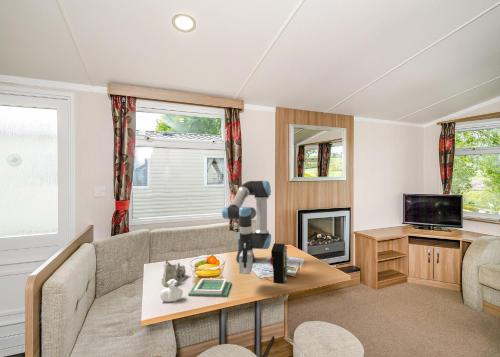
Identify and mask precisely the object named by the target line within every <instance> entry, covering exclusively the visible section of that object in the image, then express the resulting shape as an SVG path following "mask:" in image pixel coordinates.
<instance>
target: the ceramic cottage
mask: <svg viewBox="0 0 500 357" xmlns="http://www.w3.org/2000/svg"><path fill="white" fill-rule="evenodd" d="M164 262H165V264H163V269H164V272H163V275H162V276H163V277H162V279H161V284H162V286H163V287H164V288H169V286H168V285H169V283H168V284H167V283H166V282H168V281H169V280H171V279H175V280H176V281H177V282H176V285H175V286H177V285H179V284H180V283H182V282H183V281H184V280H186V279H187V276H186V267H185V265H180V264H181V263H180V262H178V263H177V264H176V263H175V264H172V263H170V261H168V258H167V257H166V258H165V260H164Z"/></svg>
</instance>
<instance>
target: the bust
mask: <svg viewBox="0 0 500 357" xmlns="http://www.w3.org/2000/svg"><path fill="white" fill-rule="evenodd" d="M176 282H177V281H176V280H175V279H171V280H169V281H168V282H166V283H167V284H168V283H169V285H168V286H169V287H165V288H164V289H162V290H161V291H160V293H159V298H160V299H161V301H162V302H167V303H169V302H170V303H171V302H176V301H178V300H181V299H182V297H183V292H184V290H183V289H182V288H180V287H179V286H177V285H176ZM176 286H177V287H176Z"/></svg>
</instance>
